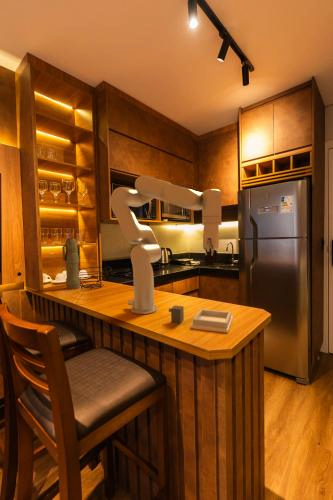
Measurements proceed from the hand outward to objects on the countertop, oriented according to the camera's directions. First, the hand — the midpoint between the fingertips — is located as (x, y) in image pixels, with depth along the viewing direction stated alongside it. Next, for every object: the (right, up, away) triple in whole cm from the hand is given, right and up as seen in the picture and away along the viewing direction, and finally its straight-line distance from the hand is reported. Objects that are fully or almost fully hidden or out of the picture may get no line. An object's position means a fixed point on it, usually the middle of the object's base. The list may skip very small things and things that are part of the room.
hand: (211, 263), depth 97 cm
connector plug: (-14, -24, +2) cm, 28 cm away
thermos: (-84, -21, +71) cm, 112 cm away
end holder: (0, -24, 0) cm, 24 cm away
